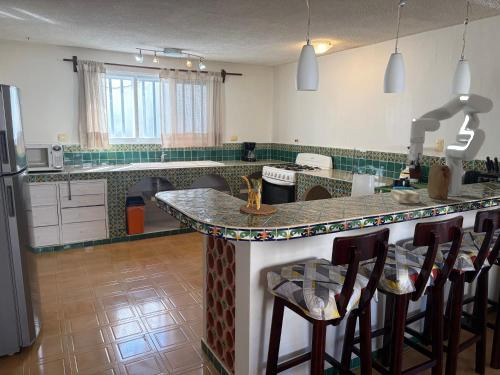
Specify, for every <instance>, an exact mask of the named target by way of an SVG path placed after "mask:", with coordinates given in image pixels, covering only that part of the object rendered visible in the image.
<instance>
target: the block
mask: <svg viewBox="0 0 500 375" xmlns="http://www.w3.org/2000/svg"><path fill="white" fill-rule="evenodd" d="M450 172H451V171H450V168H449V167H448V166H447V165H444V164H431V165H430V169H429V175H428V181H427V193H428V197H429V198H430V199H432V200H433V199H435V200H441V201H443V200H444V201H445V200H447V199H448V197H449V196H448V187H449V183H450V176H451V173H450Z"/></svg>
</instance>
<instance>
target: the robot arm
mask: <svg viewBox="0 0 500 375" xmlns="http://www.w3.org/2000/svg"><path fill="white" fill-rule="evenodd" d="M493 108H494V103H493V101H492V100H491V98H489V97H485V96H482V95H478V94H476V93H467V94H466V93H464V94H463V93H462V94H458V95H456V96H454V97H453V98H451V99H450V100H448V101H447V102H445V103H444V104H443V105H442V106H440V107H436V108H434V109H433V110H430V111H427V112H426V113H424V114H422V115H421V116H419V117H418V118H415V119H412V120H411V125H410V126H411V128H410V140H409V150H408V152H409V153H408V160H409V166H410V165H414V161H415V169H414V172H420V170H421V167H422V162H423V157H424V144H425V137H426V132H429V133H432V132H437V131H438V130H439V129H440V127H441V123H440V121H445V120H448V119H451V118H453V117H454V116H456V115H457V114H458V113H459V112H461V111H463V113H464V114H463V115H464V120H463V122H462V124H461V126H460V128H459V130H458V131H457V133H456V136H455V140H456V142H457V143H450V144H448V145H447V146H446V147H445V150H444V156H445V157H444V158H445V165H447V166H448V167H449V168H450V171H451V172H450V173H451V176H450V183H449V187H448V197H457V196H458V197H462V196H463V194H464V193H469V189H466V188H465V189H463V188H462V187H461V186H462V176H463V169H464V168H463V167H464V166H463V162H462V161H465V162H469V161H473V160H474V159H475V158H476V157H477V155H478V153H479V152H480V150H481V148H482V146H483V145H484V143H485V141H486V140H485V139H486V132H485V131H484V130H483V129H481V128H479V126H480V124H481V122H480V118H479V115H478V114H488V113H490V112H491V111H492V109H493ZM413 154H414V156H413Z"/></svg>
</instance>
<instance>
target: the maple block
mask: <svg viewBox="0 0 500 375" xmlns="http://www.w3.org/2000/svg"><path fill="white" fill-rule="evenodd" d="M419 199H420V193H418V192H416V191H414V190H411V189H391V190H390V198H389V200H391V201H392V202H394V203H396V202H397V203H396V204H398V203H418V204H419V201H420V200H419Z"/></svg>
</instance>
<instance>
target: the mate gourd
mask: <svg viewBox="0 0 500 375" xmlns="http://www.w3.org/2000/svg"><path fill="white" fill-rule="evenodd" d="M413 156H414V154H413ZM422 168H423V167H422V166H421V170H420V172H414V169H415V161H414V165H410V164H409V168H408V175H409V178H408V179H409V180H418V179H419V180H420V179H421V175H422V171H423V169H422Z"/></svg>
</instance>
